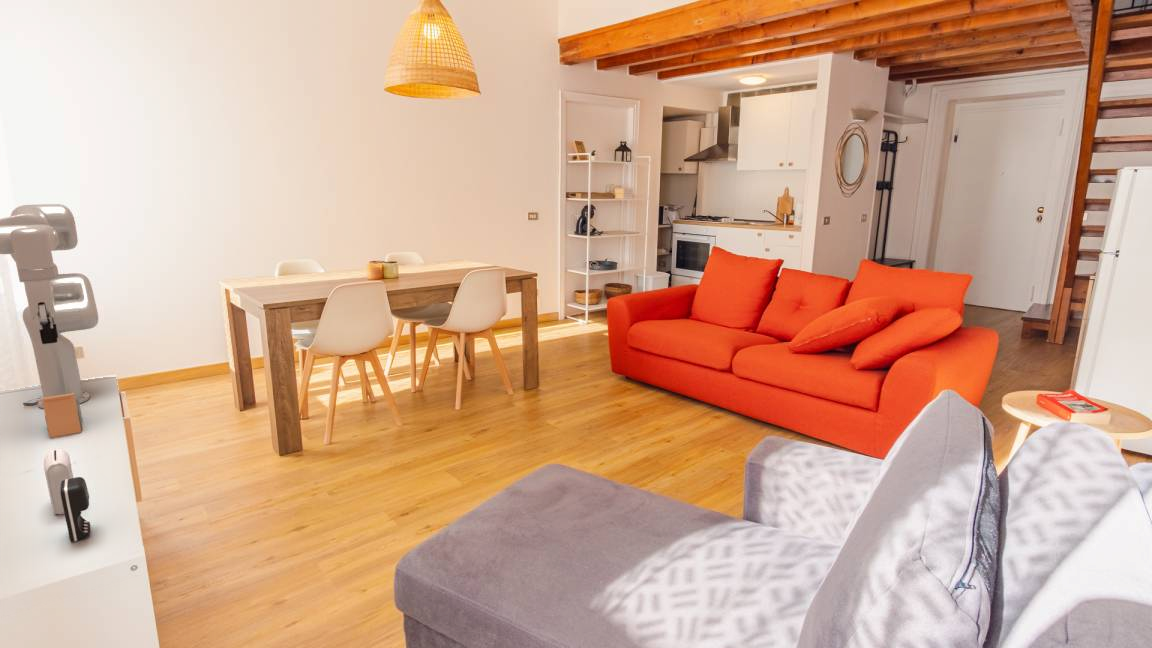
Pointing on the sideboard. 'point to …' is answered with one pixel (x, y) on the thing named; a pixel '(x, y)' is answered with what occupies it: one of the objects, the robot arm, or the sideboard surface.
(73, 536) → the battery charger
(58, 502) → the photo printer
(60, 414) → the side door
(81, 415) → the camera housing
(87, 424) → the sideboard surface
